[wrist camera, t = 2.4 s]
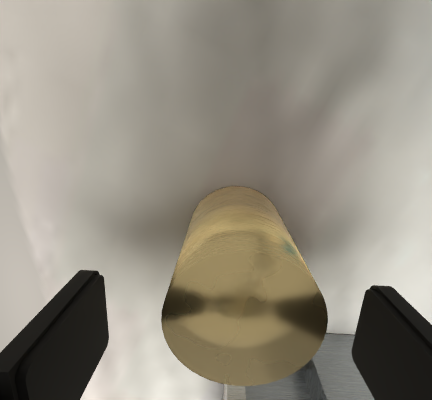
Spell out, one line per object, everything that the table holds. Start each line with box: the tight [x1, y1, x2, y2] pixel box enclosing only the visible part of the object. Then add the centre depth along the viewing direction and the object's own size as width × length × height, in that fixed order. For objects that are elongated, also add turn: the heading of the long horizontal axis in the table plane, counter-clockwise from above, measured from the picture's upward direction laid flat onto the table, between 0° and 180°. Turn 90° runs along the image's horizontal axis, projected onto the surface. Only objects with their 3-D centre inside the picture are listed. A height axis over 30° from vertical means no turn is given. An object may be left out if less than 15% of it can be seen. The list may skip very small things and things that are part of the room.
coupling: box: [161, 186, 328, 386], centre depth 11 cm, size 5×5×7 cm
